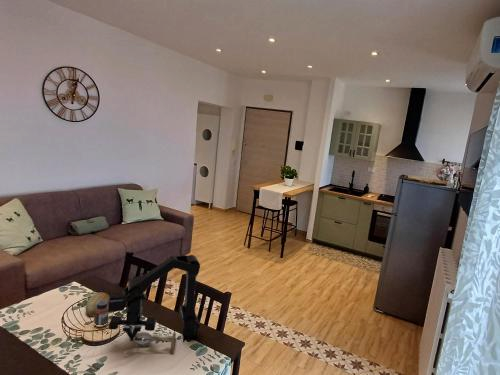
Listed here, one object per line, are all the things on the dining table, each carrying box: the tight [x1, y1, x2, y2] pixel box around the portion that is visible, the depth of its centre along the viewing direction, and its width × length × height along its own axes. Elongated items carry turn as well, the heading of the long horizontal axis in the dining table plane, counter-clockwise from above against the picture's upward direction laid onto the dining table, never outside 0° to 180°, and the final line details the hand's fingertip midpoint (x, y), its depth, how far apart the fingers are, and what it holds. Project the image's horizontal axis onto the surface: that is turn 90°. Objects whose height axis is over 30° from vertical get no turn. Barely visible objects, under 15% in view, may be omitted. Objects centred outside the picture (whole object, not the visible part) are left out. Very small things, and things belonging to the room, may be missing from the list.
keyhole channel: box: [123, 332, 177, 357], centre depth 143 cm, size 20×14×3 cm
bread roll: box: [85, 292, 110, 317], centre depth 163 cm, size 10×15×8 cm, turn 0°
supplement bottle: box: [93, 301, 110, 325], centre depth 152 cm, size 6×6×11 cm
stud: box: [134, 331, 152, 348], centre depth 142 cm, size 7×7×4 cm
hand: (132, 340), depth 142 cm, fingers closed
